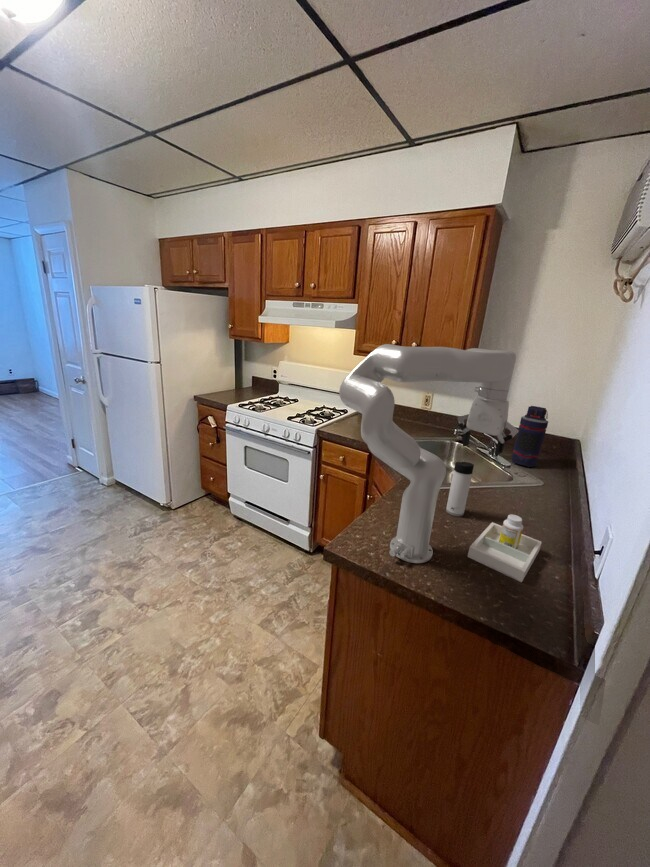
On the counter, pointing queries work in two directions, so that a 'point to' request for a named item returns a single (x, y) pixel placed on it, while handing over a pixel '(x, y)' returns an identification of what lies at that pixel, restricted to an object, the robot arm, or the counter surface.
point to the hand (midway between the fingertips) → (481, 449)
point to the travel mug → (459, 488)
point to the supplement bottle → (511, 531)
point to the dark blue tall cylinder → (530, 437)
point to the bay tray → (504, 553)
